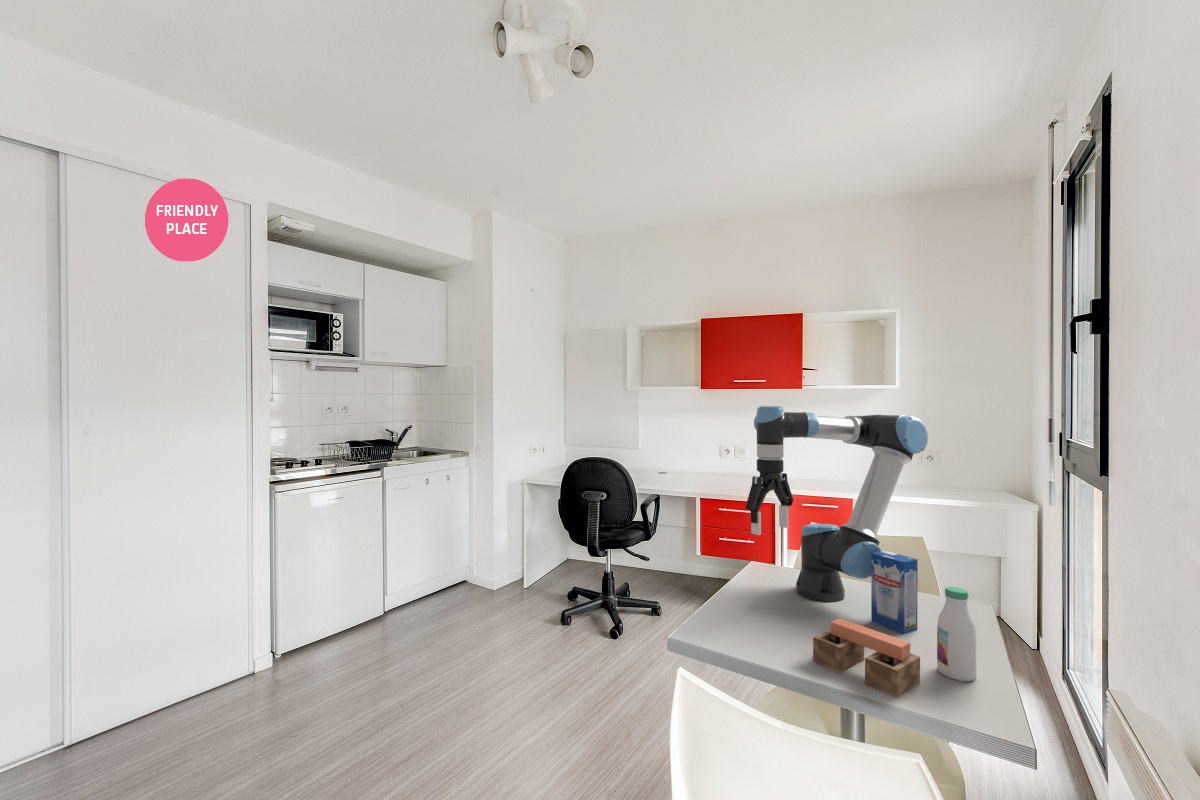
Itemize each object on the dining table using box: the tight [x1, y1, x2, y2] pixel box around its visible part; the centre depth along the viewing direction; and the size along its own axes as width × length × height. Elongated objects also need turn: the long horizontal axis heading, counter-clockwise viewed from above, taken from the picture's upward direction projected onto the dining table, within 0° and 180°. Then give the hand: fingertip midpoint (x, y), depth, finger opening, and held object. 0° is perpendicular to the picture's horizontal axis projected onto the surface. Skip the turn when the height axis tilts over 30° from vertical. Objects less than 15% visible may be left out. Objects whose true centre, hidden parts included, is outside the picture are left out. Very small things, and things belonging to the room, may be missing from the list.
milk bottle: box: [936, 586, 977, 682], centre depth 126 cm, size 8×8×20 cm
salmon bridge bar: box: [830, 617, 911, 667], centre depth 128 cm, size 17×4×7 cm, turn 35°
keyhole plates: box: [812, 629, 921, 699], centre depth 126 cm, size 11×20×6 cm, turn 35°
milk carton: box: [870, 550, 919, 635], centre depth 153 cm, size 10×6×20 cm, turn 27°
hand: (770, 530), depth 156 cm, fingers open, 13 cm apart
